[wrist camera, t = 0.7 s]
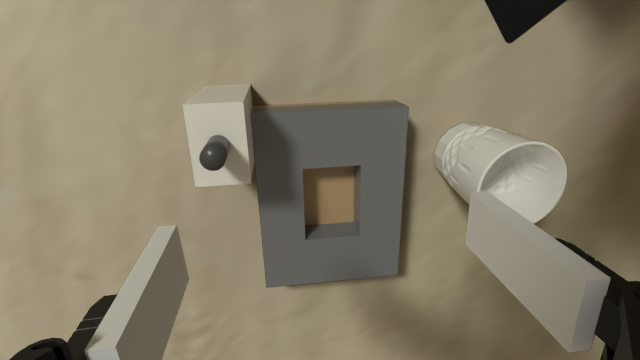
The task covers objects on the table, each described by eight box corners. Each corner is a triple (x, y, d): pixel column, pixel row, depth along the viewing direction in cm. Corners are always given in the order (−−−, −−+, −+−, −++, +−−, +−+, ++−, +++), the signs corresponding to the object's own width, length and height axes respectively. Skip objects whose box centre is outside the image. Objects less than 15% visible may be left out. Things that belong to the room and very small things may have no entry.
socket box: (252, 106, 35) (250, 114, 31) (394, 99, 36) (408, 106, 33) (266, 265, 41) (266, 287, 38) (386, 254, 43) (397, 275, 39)
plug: (206, 85, 34) (171, 113, 22) (250, 84, 34) (239, 109, 22) (214, 148, 36) (187, 204, 24) (256, 146, 36) (249, 199, 24)
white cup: (488, 103, 38) (558, 125, 29) (505, 167, 41) (574, 205, 32) (418, 136, 38) (466, 168, 29) (440, 197, 41) (489, 244, 32)
